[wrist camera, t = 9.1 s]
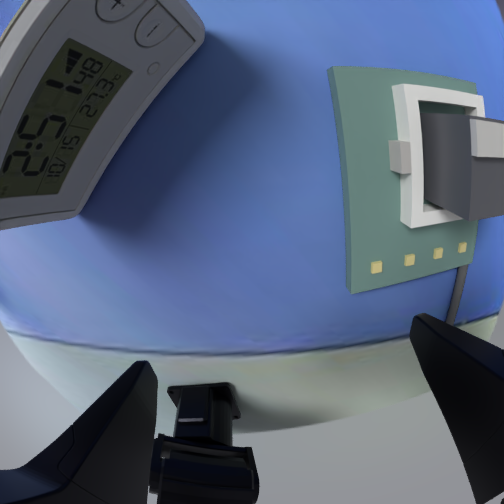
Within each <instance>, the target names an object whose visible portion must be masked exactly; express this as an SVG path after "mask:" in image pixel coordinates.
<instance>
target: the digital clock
mask: <svg viewBox="0 0 504 504" xmlns="http://www.w3.org/2000/svg"><path fill="white" fill-rule="evenodd" d="M204 39H205V27H204V24H203V22H202V20H201V19H200V17H199V16H198V15H197V13H196V12H195V11H194V10H193V8H192V7H191V6H190V5H189V3H188V2H187V1H186V0H25V1H24V3H23V4H22V5H21V7H20V8H19V10H18V11H17V13H16V14H15V15H14V17H13V18H12V20H11V21H10V23H9V24H8V26H7V28H6V29H5V31H4V32H3V34H2V36H1V37H0V230H5V229H10V228H16V227H21V226H27V225H33V224H39V223H46V222H52V221H59V220H65V219H70V218H73V217H75V216H77V215H78V214H79V213H80V212H81V210H82V209H83V207H84V205H85V204H86V202H87V200H88V198H89V196H90V195H91V193H92V191H93V189H94V188H95V186H96V184H97V182H98V181H99V179H100V177H101V176H102V174H103V172H104V171H105V169H106V167H107V166H108V164H109V162H110V161H111V159H112V158H113V156H114V155H115V153H116V151H117V150H118V148H119V147H120V145H121V144H122V142H123V141H124V139H125V138H126V136H127V135H128V134H129V132H130V131H131V129H132V128H133V126H134V125H135V124H136V122H137V121H138V120H139V118H140V117H141V116H142V114H143V113H144V112H145V110H146V109H147V108H148V106H149V105H150V104H151V102H152V101H153V100H154V99H155V97H156V96H157V95H158V94H159V92H160V91H161V90H162V89H163V88H164V86H165V85H166V84H167V83H168V82H169V81H170V79H171V78H172V77H173V76H174V75H175V74H176V72H177V71H178V70H179V69H180V68H181V67H182V66H183V65H184V63H185V62H186V61H187V60H188V59H189V58H190V57H191V56H192V55H193V54H194V52H195V51H196V50H197V49H198V48H199V47H200V46H201V44H202V43H203V41H204Z"/></svg>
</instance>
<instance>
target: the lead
mask: <svg viewBox="0 0 504 504" xmlns="http://www.w3.org/2000/svg"><path fill="white" fill-rule="evenodd" d="M467 269H468V264H467V265H463V266H460V267H458V272H457V277H456V282H455V287H454V291H453V295H452V300H451V304H450V308H449V311H448V315H447V319H446V323H448V324H450V325H452V326H453V324H454V321H455V317H456V314H457V310H458V307H459V303H460V299H461V295H462V291H463V287H464V283H465V278H466V274H467Z"/></svg>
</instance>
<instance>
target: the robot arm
mask: <svg viewBox="0 0 504 504" xmlns="http://www.w3.org/2000/svg"><path fill="white" fill-rule="evenodd" d="M410 341H411V343H412V346H413V348H414V351H415V353H416V356H417V358H418V361H419V363H420V366H421V369H422V371H423V374H424V376H425V378H426V380H427V382H428V384H429V386H430V388H431V390H432V392H433V394H434V396H435V398H436V401H437V403H438V405H439V407H440V409H441V411H442V414H443V416H444V418H445V420H446V422H447V425H448V427H449V429H450V432H451V434H452V436H453V439H454V441H455V444H456V446H457V449H458V451H459V454H460V456H461V459H462V462H463V464H464V468H465V470H466V473H467V476H468V479H469V482H470V485H471V488H472V491H473V494H474V498H475V501H476V504H484V503H486V502H488V501H489V500H491V499H493V498H494V497H496V496H497V495H499V494H501V493H502V492H504V350H503V349H501V348H499V347H497V346H495V345H493V344H491V343H489V342H486V341H484V340H482V339H480V338H478V337H476V336H474V335H471V334H469V333H467V332H465V331H463V330H461V329H459V328H456V327H454V326H452V325H450V324H448V323H446V322H443V321H441V320H439V319H437V318H435V317H432V316H430V315H428V314H426V313H422V314H418V315H415V316H414V318H413V321H412V325H411V330H410ZM157 389H158V380H157V376H156V374H155V373H154V371H153V369H152V367H151V365H150V363H149V362H148V361H146V360H144V361H136V362H134V363H133V364H132V365H131V366H130V367H129V368H128V369H127V370H126V371H125V372H124V373H123V374H122V375H121V376H120V377H119V378H118V379H117V380H116V381H115V382H114V383H113V384H112V385H111V386H110V387H109V388H108V389H107V390H106V391H105V392H104V393H103V394H102V395H101V396H100V397H99V398H98V399H97V400H96V401H95V402H94V403H93V404H92V405H91V406H90V407H89V408H88V409H87V410H86V411H85V412H84V413H83V414H82V415H81V416H80V417H79V418H78V419H77V420H76V421H75V422H74V423H73V425H71V426H70V427H69V428H68V429H67V430H66V431H65V432H64V433H62V434H61V435H60V436H59V437H58V438H57V439H56V440H55V441H54V442H53V443H51V444H50V445H49V446H48V447H47V448H46V449H44V450H43V451H42V452H40V453H39V454H38V455H37V456H36V457H34V458H33V459H32V460H30V461H29V462H28V463H27V464H25V465H24V466H22V467H20V468H17V469H11V470H0V504H147V495H148V486H150V488H149V493H152V494H157V495H158V498H157V504H255V503H256V501H257V499H258V495H259V477H258V473H257V469H256V464H255V460H254V456H253V451H252V448H251V447H234V446H232V420H233V419H239V418H240V417H241V416H240V411H239V409H238V406H237V404H236V401H235V398H234V396H233V393H232V390H231V388H230V385H229V384H228V383H216V384H205V385H191V386H173V387H168V389H167V393H168V395H169V396H170V398H171V399H172V401H173V403H174V404H175V406H176V407H177V413H176V420H175V427H174V433H173V437H170V436H165V435H164V434H161V433H159V434H158V438H156V439H154V434H155V427H156V416H157ZM162 457H163V458H162ZM501 504H504V498H503V499H502V501H501Z"/></svg>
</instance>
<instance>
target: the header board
mask: <svg viewBox="0 0 504 504" xmlns="http://www.w3.org/2000/svg"><path fill="white" fill-rule="evenodd" d="M327 73H328V78H329V84H330V89H331V95H332V102H333V108H334V115H335V122H336V129H337V137H338V146H339V155H340V164H341V175H342V187H343V201H344V219H345V244H346V287H347V289H348V290H349V292H350V293H351V294H354V293H359V292H363V291H368V290H372V289H376V288H381V287H385V286H389V285H393V284H397V283H401V282H405V281H409V280H413V279H417V278H421V277H424V276H428V275H432V274H435V273H439V272H443V271H446V270H450V269H453V268H456V267H460V266H463V265H467V264H470V263H472V260H473V255H474V249H475V243H476V236H477V228H478V220H475V221H469V222H468V221H467V220H465V219H463V218H461V217H459V216H457V215H456V214H454V213H452V212H450V211H448V210H446V209H444V208H442V207H440V206H438V205H436V204H434V203H432V202H430V201H428V200H426V199H424V198H423V196H424V174H423V147H422V133H421V122H420V113H441V114H460V115H472V116H478V117H484V118H485V111H484V102H483V96H479V95H477V89H476V83H473V82H469V81H465V80H460V79H456V78H451V77H446V76H441V75H435V74H429V73H423V72H416V71H408V70H399V69H389V68H375V67H352V66H332V67H331V68H329V69H328V70H327Z"/></svg>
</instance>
